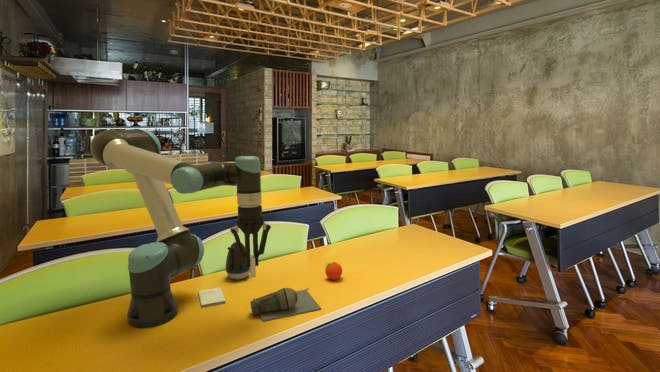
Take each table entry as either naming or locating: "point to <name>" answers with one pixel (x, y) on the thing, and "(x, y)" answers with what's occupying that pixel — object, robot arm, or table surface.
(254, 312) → the beverage cup
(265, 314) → the mat
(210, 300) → the external hard drive
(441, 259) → the table surface
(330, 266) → the clementine
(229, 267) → the black tapered dome
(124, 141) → the robot arm
